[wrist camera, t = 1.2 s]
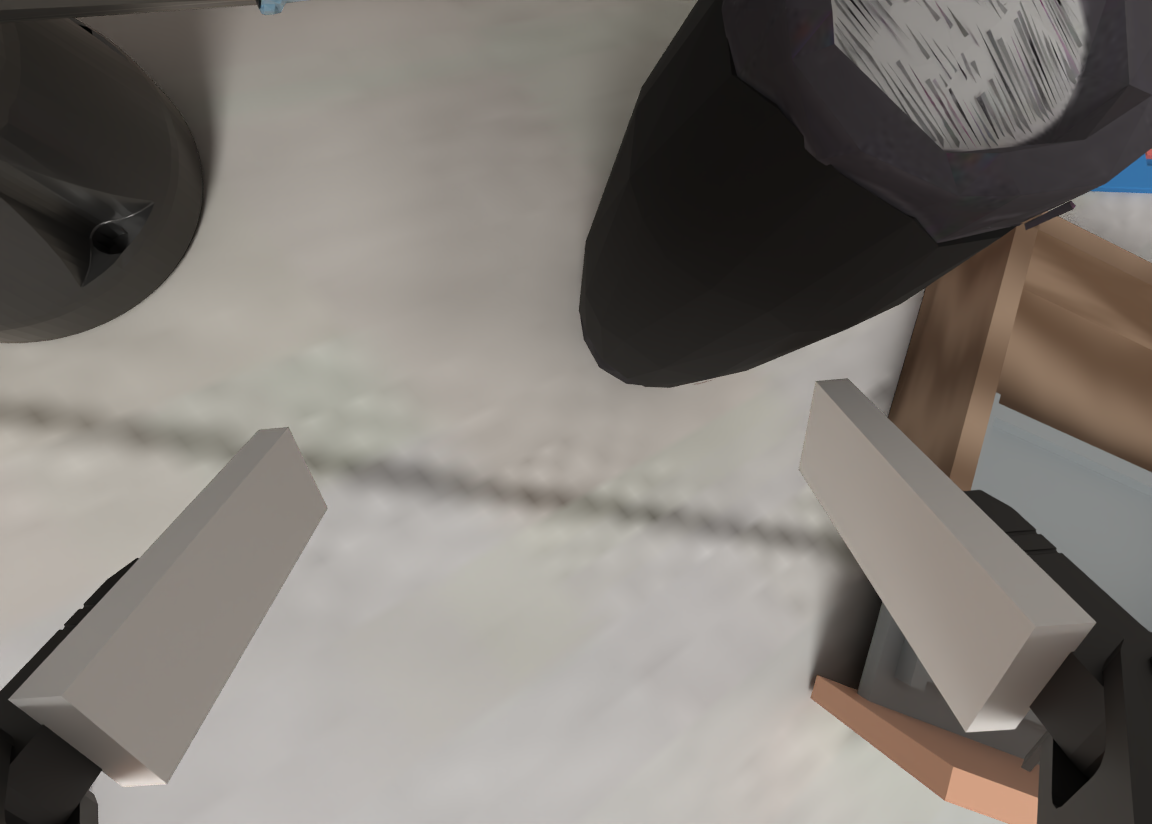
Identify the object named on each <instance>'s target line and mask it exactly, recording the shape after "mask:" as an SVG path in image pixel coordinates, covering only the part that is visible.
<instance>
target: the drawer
mask: <svg viewBox="0 0 1152 824" xmlns="http://www.w3.org/2000/svg"><path fill="white" fill-rule="evenodd" d="M1000 396H1001V394H999V393H996V394H995V398H994V402H993V406H992V410H991V414H990V418H989V422H988V425H987V429H986V433H985V437H984V441H983V445H982V449H981V452H980V456H979V460H978V464H977V468H976V472H975V476H974V480H973V483H972V487H971V490H982V491H984V492H986V493H987V494H989V495H991V496H993V497H994V498H996V499H998V500H1000V501H1001V502H1003V503H1005V504H1007V505H1009V506H1010V507H1012V508H1013V509H1014V510H1015V511H1017V512H1018V513H1019V514H1020V515H1021V516H1022V517H1023V518H1024V519H1025V520H1026V521H1028V522H1029V523H1030V524H1031V525H1032V526H1033V527H1034V528H1035V529H1036V532H1037V534H1042V535H1043V536H1044V537H1045V538H1046V539H1047V540H1048V541H1050V542H1051V543H1052V544H1053V545H1054V546H1055V547H1056V548H1057V549H1056V550H1057V552H1058V553H1063V554H1064V555H1065V556H1066V557H1067V558H1068V559H1069V560H1070V561H1072V562H1073V563H1074V564H1075V565H1076V566H1077V567H1078V568H1079V569H1080V570H1082V571H1083V572H1084V573H1085V574H1086V575H1087V576H1088V577H1089V578H1090V579H1091V580H1093V581H1094V582H1095V583H1096V584H1097V585H1098V586H1099V587H1100V588H1101V589H1102V590H1104V591H1105V592H1106V593H1107V594H1108V595H1109V596H1110V597H1111V598H1112V599H1113V600H1115V601H1116V602H1117V603H1118V604H1119V605H1120V606H1121V607H1122V608H1123V609H1124V610H1126V611H1127V612H1128V613H1129V614H1130V615H1131V616H1132V617H1133V618H1134V619H1135V620H1137V621H1138V622H1139V623H1140V624H1141V625H1142V626H1143V627H1145V628H1146V629H1147V630H1148V631H1150V632H1152V472H1150V471H1148V470H1145V469H1143V468H1141V467H1139V466H1136V465H1134V464H1132V463H1130V462H1128V461H1125V460H1123V459H1121V458H1119V457H1117V456H1114V455H1112V454H1110V453H1108V452H1105V451H1103V450H1101V449H1099V448H1097V447H1094V446H1092V445H1090V444H1088V443H1086V442H1083V441H1081V440H1079V439H1077V438H1074V437H1072V436H1070V435H1068V434H1066V433H1063V432H1061V431H1059V430H1057V429H1055V428H1052V427H1050V426H1048V425H1046V424H1043V423H1041V422H1039V421H1037V420H1035V419H1032V418H1030V417H1028V416H1026V415H1024V414H1021V413H1019V412H1017V411H1015V410H1012V409H1010V408H1008V407H1006V406H1004V405H1001V404H999V400H1000ZM811 699H813V700H814V701H815V702H817V703H818V704H819V705H820V706H822V707H823V708H824V709H826V710H827V711H828V712H830V713H831V714H832V715H834V716H835V717H836V718H837V719H839V720H840V721H841V722H843V723H844V724H845V725H847V726H848V727H849V728H851V729H852V730H853V731H854V732H856V733H857V734H858V735H860V736H861V737H862V738H864V739H865V740H866V741H868V742H869V743H870V744H871V745H873V746H874V747H875V748H877V749H878V750H879V751H881V752H882V753H883V754H884V755H886V756H887V757H888V758H890V759H891V760H892V761H894V762H895V763H896V764H898V765H899V766H900V767H901V768H903V769H904V770H905V771H907V772H908V773H909V774H911V775H912V776H913V777H915V778H916V779H917V780H918V781H920V782H921V783H922V784H924V785H925V786H926V787H928V788H929V789H930V790H932V791H933V792H934V793H935V794H937V795H938V796H939V797H941V798H942V799H943V800H945V801H947V802H950V803H953V804H955V805H958V806H961V807H964V808H966V809H969V810H972V811H975V812H978V813H980V814H983V815H986V816H989V817H992V818H994V819H997V820H1000V821H1003V822H1005V823H1008V824H1037V809H1038V788H1039V766H1040V761H1039V763H1038V764H1037V765H1036V766H1035V767H1034V768H1033V769H1032V771H1031V772H1029V771H1027V770H1025V769H1023V768H1021V766H1022V764H1023V761H1024V759H1025V756H1026V755H1027V754H1028V753H1029V751H1030V750H1031V749H1032V748H1033V747H1034V746H1035V744H1036V743H1037V742H1038V741H1039V740H1040V738H1041V737H1042V736H1043V735H1044V734H1045V732H1046V731H1047V729H1046V728H1045V727H1044V725H1043V724H1042V723H1041V722H1040V720H1039V719H1038V718H1037V716H1036V715H1035V714H1034V712H1033V711H1032V710H1031V709H1030V710H1029V711H1028V713H1027V714H1026V715H1025V717H1024V718H1023V719H1022V721H1021V722H1020V723H1019V725H1018V726H1017V727H1016V728H1015V729H1011V730H996V731H980V732H965V731H964V729H963V727H962V726H961V724H960V723H959V721H958V719H957V718H956V716H955V715H954V713H953V712H952V710H951V708H950V707H949V705H948V704H947V702H946V701H945V699H944V697H943V696H942V694H941V693H940V691H939V690H938V688H937V686H936V685H935V683H934V682H933V680H932V679H931V677H930V675H929V674H928V672H927V671H926V669H925V668H924V666H923V664H922V663H921V661H920V660H919V658H918V657H917V655H916V653H915V652H914V650H913V649H912V647H911V646H910V644H909V642H908V641H907V639H906V638H905V636H904V635H903V633H902V631H901V630H900V628H899V627H898V625H897V623H896V622H895V620H894V619H893V617H892V616H891V614H890V612H889V611H888V609H887V608H886V606H885V605H884V603H883V602H882V605H881V609H880V612H879V616H878V620H877V623H876V627H875V631H874V634H873V638H872V641H871V645H870V649H869V652H868V656H867V659H866V663H865V667H864V670H863V674H862V677H861V681H860V685H859V688H858V690H856V689H853V688H851V687H848V686H845V685H843V684H840V683H837V682H835V681H832V680H829V679H827V678H824V677H821V676H819V675H817V677H816V681H815V684H814V688H813V691H812V695H811Z"/></svg>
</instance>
